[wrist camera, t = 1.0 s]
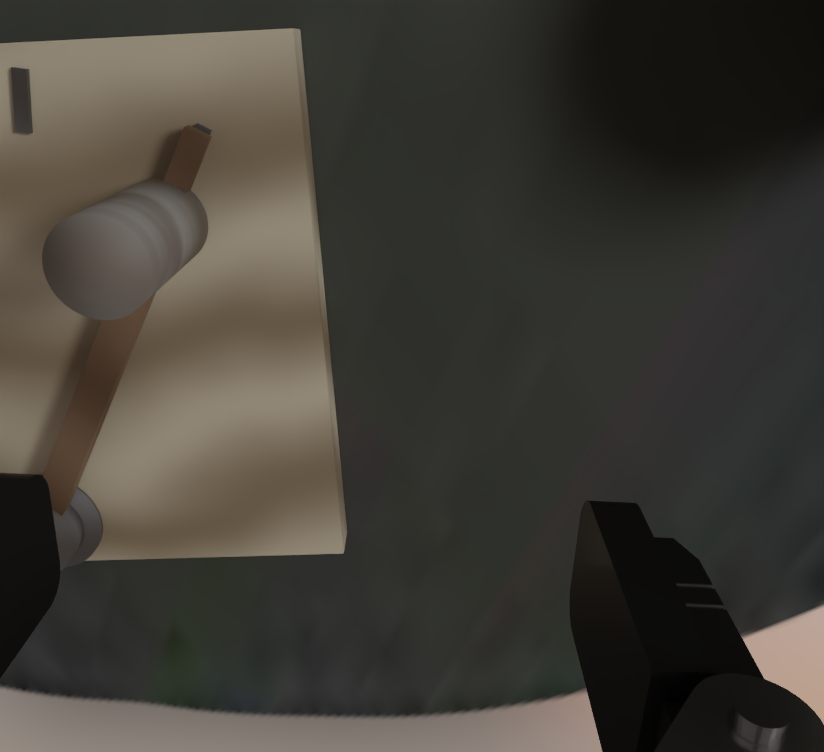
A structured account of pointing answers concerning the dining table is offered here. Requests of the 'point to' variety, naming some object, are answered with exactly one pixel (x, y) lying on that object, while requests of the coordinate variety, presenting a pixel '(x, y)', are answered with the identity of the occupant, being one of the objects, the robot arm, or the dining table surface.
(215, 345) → the board
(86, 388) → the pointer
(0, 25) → the dining table surface
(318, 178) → the dining table surface
